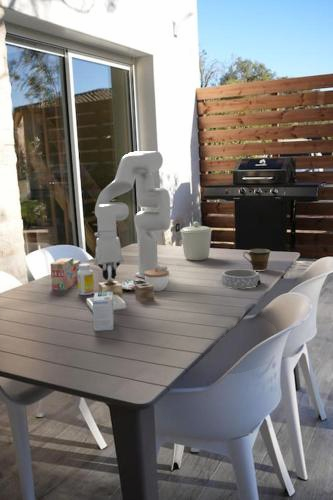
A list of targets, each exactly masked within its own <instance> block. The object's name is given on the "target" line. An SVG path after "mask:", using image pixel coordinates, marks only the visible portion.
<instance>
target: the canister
mask: <svg viewBox="0 0 333 500" xmlns="http://www.w3.org/2000/svg"><path fill="white" fill-rule="evenodd" d="M212 231H213V228H211V227H210V226H204V225H200V222H198V221H193V223H192V226H191V225H190V226H185V227H182V229H179V232H180V233H181V234H180V236H181V240H182V241H181V242H182V249H183V255H184V257H185V259H186V260H189V261H203V260H207V259H208V257H209V256H210V251H211V239H212V237H211V236H212Z"/></svg>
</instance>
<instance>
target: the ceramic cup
mask: <svg viewBox="0 0 333 500" xmlns="http://www.w3.org/2000/svg"><path fill="white" fill-rule="evenodd" d="M270 253H271V250H270V249H267V248H252V249H249V252H248V251H245V252H244V253H243V258H244V259H246V260H247V261H248V262H249V263H250V265H251V266H252V267H251V268H252V270H265V269H268V268H267V267H268V264H269V258H270ZM245 254H247V255H248V256H249V257H250V259H248V258H247V257H246V256H245Z"/></svg>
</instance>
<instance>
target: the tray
mask: <svg viewBox="0 0 333 500" xmlns="http://www.w3.org/2000/svg"><path fill="white" fill-rule="evenodd" d="M93 298H94V297H88V298H86V299H85V300H86V305H87V307H88V308H89V309H90V310H91V311H92V313H93ZM125 309H127V304H126V301H124V299H121V298H120V297H119V296H118V295H113V311H121V310H125Z"/></svg>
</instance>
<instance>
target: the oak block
mask: <svg viewBox="0 0 333 500" xmlns="http://www.w3.org/2000/svg"><path fill="white" fill-rule="evenodd" d="M97 285H98V292H113V295H118V296H119V297H120V298H121V299H122V300H124V299H123V298H124V296H123V285H122V284H121V282H119V281H117V280H113V285H109V286H107V281H103V282H98V283H97Z"/></svg>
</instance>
